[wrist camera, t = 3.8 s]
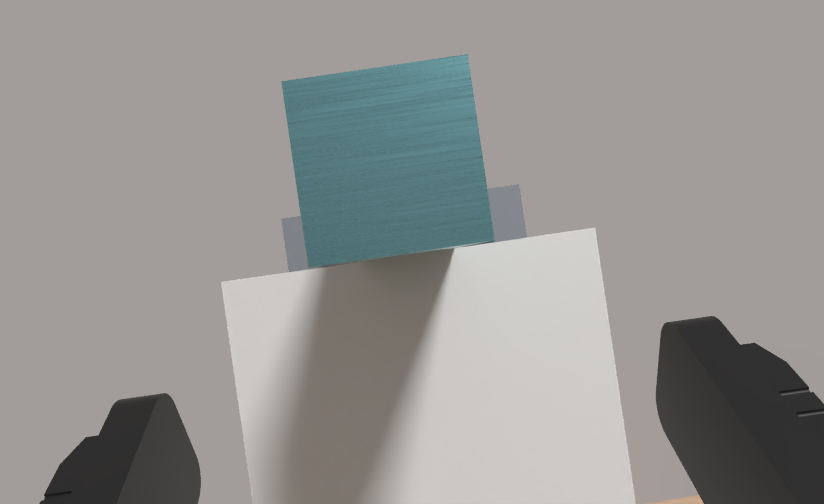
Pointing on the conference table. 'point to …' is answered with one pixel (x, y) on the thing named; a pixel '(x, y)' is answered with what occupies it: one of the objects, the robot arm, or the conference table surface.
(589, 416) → the tall white pedestal box
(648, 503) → the conference table surface
